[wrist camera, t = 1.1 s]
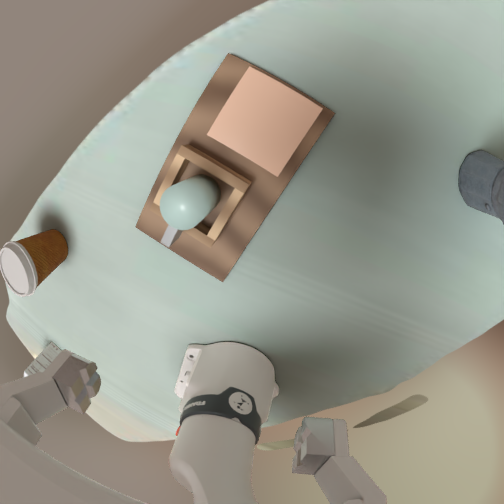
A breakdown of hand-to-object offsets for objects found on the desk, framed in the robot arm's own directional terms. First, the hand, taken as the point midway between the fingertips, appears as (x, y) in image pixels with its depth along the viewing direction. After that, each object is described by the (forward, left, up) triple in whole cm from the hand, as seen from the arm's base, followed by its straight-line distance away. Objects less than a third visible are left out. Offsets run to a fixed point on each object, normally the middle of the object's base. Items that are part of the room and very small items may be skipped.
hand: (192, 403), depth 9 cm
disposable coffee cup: (-26, +29, -30) cm, 49 cm away
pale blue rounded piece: (-4, +8, -29) cm, 30 cm away
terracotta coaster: (+9, +6, -29) cm, 31 cm away
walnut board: (+1, +7, -30) cm, 31 cm away
